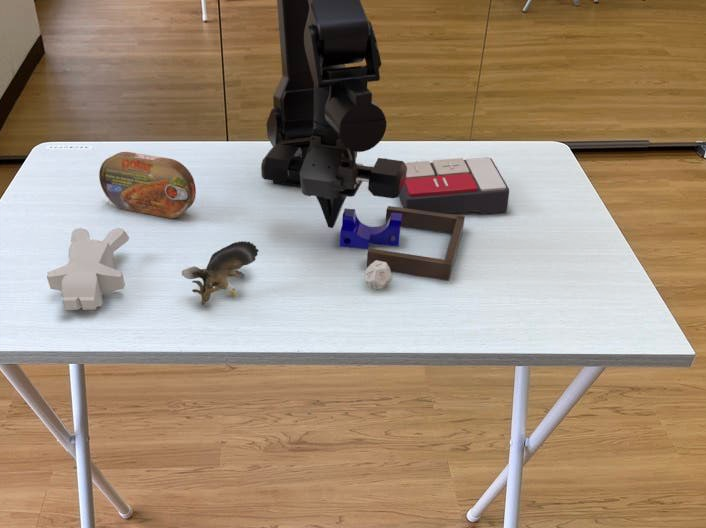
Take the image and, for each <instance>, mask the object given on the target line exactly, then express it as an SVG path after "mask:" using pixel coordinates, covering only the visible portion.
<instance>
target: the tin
mask: <svg viewBox="0 0 706 528" xmlns="http://www.w3.org/2000/svg"><path fill="white" fill-rule="evenodd" d="M98 177H99V178H98V179H99V183H100V187H101V189H102V191H103V193H104V194H105V196H106V198H107V199H108V200H109V201H110V202H111V203H112V204H113V205H115V206H116V207H118V208H119V209H122V210H124V211H127V212H134V213H139V214H140V213H141V214H145V215H151V216H157V217H161V218H166V219H175V218H178V217H181V216H182V215H184V214H185V213H186V212H187V211H188V209H190V208H191V207H192V206H193V204H194V202H195V201H196V195H197V189H196V188H197V187H196V183H195V179H194V176H193V175H192V173H191V171H190V170H189V169H188V168H187V167H186V166H185V165H184V164H182V163H181V162H180V161H178V160H175V159H173V158H169V157H162V156H156V155H149V154H142V153H136V152H131V151H121V152H118V153H116V154H113V155H112V156H109V157H108V158H106V159H105V160H103V162H102V163H101V165H100V168H99V173H98Z"/></svg>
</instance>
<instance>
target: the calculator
mask: <svg viewBox="0 0 706 528" xmlns="http://www.w3.org/2000/svg"><path fill="white" fill-rule="evenodd" d="M404 163H405V165H406V166H407V174H406V181H405V183H404V185H403V187H402V189H401V192H400V194H399V196H398V198H399V200H400V203H401V206H402V208H407V209H415V210H422V211H429V212H436V213H444V214H457V213H468V212H469V213H470V212H477V213H479V214H480V215H488V214H489V215H490V214H501V213H507V211H508V205H509V196H510V188H509V186H508V184H507V183H506V181H505V179H504V178H503V176H502V174H501V172H500V170H499V169H498V167H497V166H496V163H495V162H494V159H492V158H491V157H489V156H483V157H471V158H465V159H464V158H463V157H457V158H445V159H434V160H432V162H430V160H423V161H422V160H421V161H411V162H410V161H409V162H404Z"/></svg>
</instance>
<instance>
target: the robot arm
mask: <svg viewBox="0 0 706 528" xmlns="http://www.w3.org/2000/svg"><path fill="white" fill-rule="evenodd" d="M276 5H277V19H278V33H279V46H280V47H279V49H280V60H281V61H280V63H281V71H282V72H281V77H280V80H279V82H278V84H277V86H276V89H275V90H274V93H273V96H272V97H273V98H272V101H273V108H271V110H270V113H269V115H268V118H267V121H266V123H265V125H266V133H267V139H268V141H269V142H270V144H271V146H272V147H271V148H270V149H269V151H268V152H267V153H266V155H265V156H264V158H262V160H261V167H260V168H261V169H260V171H261V172H260V173H261V178H262V179H263V180H266V181H272V184H276V185H283V186H290V187H296V188H297V187H298V188H301V193H302V194H303V195H304V196H306V197H312V196H313V197H315V198H316V199H317V201H318V203H319V207H320V208H321V212H322V214H323V217H324V219H325V222H326V225H327V228H329V229H334V227H335V225H336V224H337V223H336V222H337V221H338V218H339V215H340V214H341V211H342V208H343V207H344V206H343V205H344V204H345V201H346V199H347V197H350V198H352V197H354V196H356V194H357V192H358V191H359V189H360V187H361V185H362V183H363V182H367V184H368V185H367V190H368V191H369V192H370V194H371V195H372V196H373V197H380V198H385V199H386V198H387V199H397V198H399V194H400V192H401V189H402V187H403V185H404V183H405V181H406V174H407V166H406V165H405V163H406V162H404V161H403V160H397V159H391V158H382V157H378V158H377V160H376V161H375V164H374V165H373V166H370V165H364V164H363V163H361V162H360V163H359V162H357V158H358V153H362V152H367V151H369V150H371V149H373V148H374V147H376V146H377V145H378V144H379V143H380V142H381V141H382V139H383V138H384V135H385V133H386V129H387V119H386V115H385V113H384V111H383V109H382V108H380V106H379V105H378V104H377V103H376V101H374V99H373V93H372V91H371V90H370V89H368V83H372V82H379V81H380V80H381V75H380V68H381V66H382V60H381V56H380V55H381V54H380V52H379V47H378V42H377V37H376V33H375V30H374V28H373V24H372V22H371V21H370V20H369V19H368V17H367V14H366V11H365V8H364V5H363V3H362V1H361V0H276ZM363 61H365V65H364V64H363V65H356V66H347V65H351V64H361V63H363Z"/></svg>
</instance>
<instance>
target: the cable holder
mask: <svg viewBox="0 0 706 528" xmlns="http://www.w3.org/2000/svg"><path fill="white" fill-rule="evenodd" d="M401 222H402V213H391V216H390V219H389V220H388V221H387V222H386V221H385V223H383V224H382V225H379V226H371V225H367V224H364V223H363V222H361V220H360V219H359V218H358V216H357V212H356V209H355V208H344V209H343V212H342V219H341V228H340V231H339V232H340V233H339V235H340V236H339V247H342V248H351V249H363V250H369V248H370V245H381V246H391V247H399V246H400V241H401V233H402V232H401V231H402V226H401Z"/></svg>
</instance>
